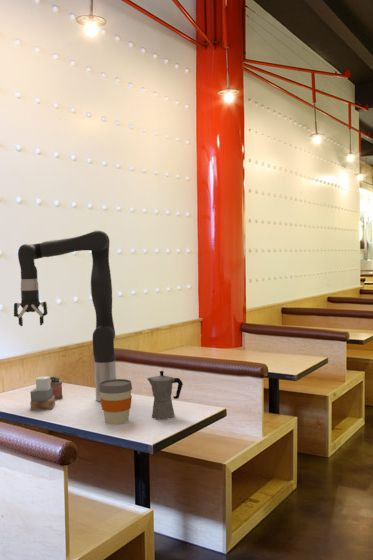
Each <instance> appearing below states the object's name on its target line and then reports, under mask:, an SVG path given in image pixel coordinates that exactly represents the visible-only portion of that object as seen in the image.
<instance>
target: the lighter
mask: <svg viewBox="0 0 373 560" xmlns="http://www.w3.org/2000/svg"><path fill="white" fill-rule="evenodd" d="M50 382H51V388H52V392H53V396H55V400H61V399H63V398H64V397H63V381H60V376H55V375H53V376H50Z"/></svg>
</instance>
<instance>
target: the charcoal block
mask: <svg viewBox="0 0 373 560" xmlns="http://www.w3.org/2000/svg"><path fill="white" fill-rule="evenodd" d="M52 397H53V392H52V388H50V389H49V390H48V391H36V388H34V389H32V390H30V402H31V401H48V400H49V399H50V398H52Z"/></svg>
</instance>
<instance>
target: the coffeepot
mask: <svg viewBox="0 0 373 560" xmlns="http://www.w3.org/2000/svg"><path fill="white" fill-rule="evenodd" d="M146 380H147V381H148V382H149V384H150V386H151V391H152V396H153V405H152V412H151V418H153V419H154V418H155V420H168V418H170V419H172V418H174V417H175V411H174V410H175V409H174V405H173V400H172V393H173V391H172V390H173V385H174V384H176V383H177V384H178V385H177V389H176V392H175V396H174V395H173V399H174V400H177V399H179V398H180V396H181V392H182V388H183V385H184V384H183V381H182V380H181V379H180V377H173V376H170V375H169V376H168V375H164V370H159V375H156V376H151V377H147V378H146Z"/></svg>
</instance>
